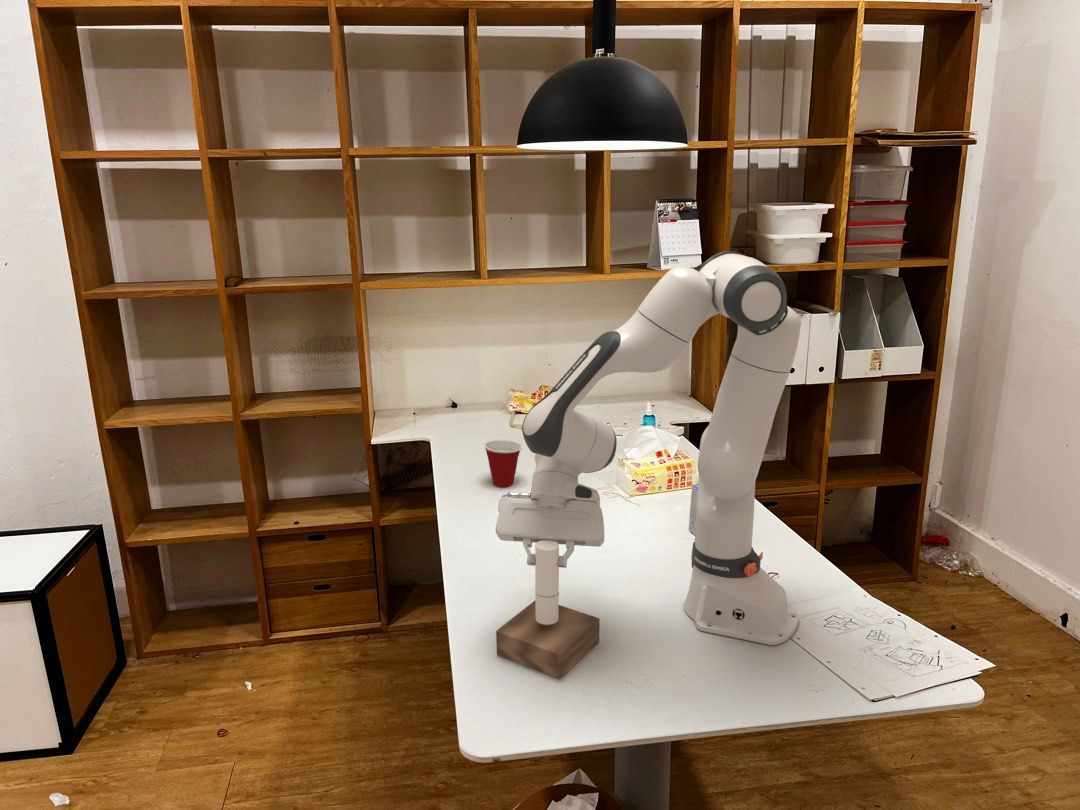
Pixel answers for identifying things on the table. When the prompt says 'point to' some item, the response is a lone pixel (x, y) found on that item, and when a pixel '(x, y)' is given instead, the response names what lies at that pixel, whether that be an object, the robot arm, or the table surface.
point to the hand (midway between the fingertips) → (546, 565)
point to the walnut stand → (548, 640)
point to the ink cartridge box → (693, 509)
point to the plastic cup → (503, 461)
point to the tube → (547, 581)
